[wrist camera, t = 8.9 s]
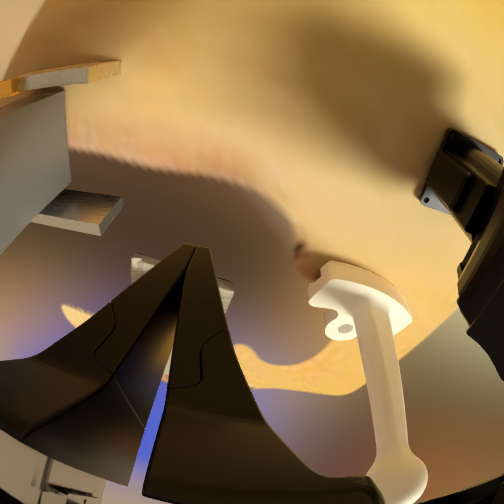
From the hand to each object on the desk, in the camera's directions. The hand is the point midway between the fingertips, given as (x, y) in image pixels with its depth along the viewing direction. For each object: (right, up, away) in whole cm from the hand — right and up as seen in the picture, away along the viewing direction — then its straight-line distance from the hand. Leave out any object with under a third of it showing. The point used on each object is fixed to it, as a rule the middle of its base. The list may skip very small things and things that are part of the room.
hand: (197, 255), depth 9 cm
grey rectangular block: (-15, +10, +9) cm, 20 cm away
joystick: (+12, -5, +18) cm, 22 cm away
